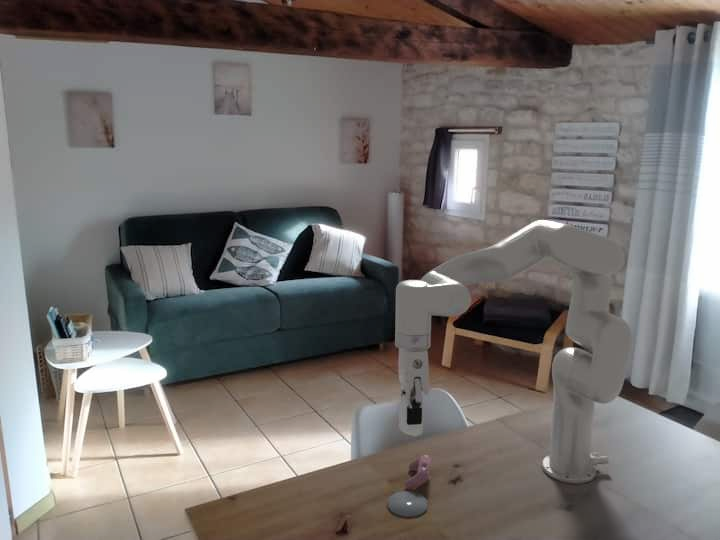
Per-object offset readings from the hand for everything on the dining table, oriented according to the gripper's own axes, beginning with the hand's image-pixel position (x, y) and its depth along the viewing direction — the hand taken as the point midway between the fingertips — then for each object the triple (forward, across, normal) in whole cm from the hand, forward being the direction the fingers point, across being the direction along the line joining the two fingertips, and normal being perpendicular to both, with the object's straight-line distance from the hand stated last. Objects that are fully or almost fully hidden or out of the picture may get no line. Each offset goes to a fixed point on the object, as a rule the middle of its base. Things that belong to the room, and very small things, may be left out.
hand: (411, 416), depth 133 cm
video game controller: (+22, +10, -4) cm, 24 cm away
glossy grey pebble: (+21, 0, 0) cm, 21 cm away
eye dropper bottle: (+4, 0, 0) cm, 4 cm away
